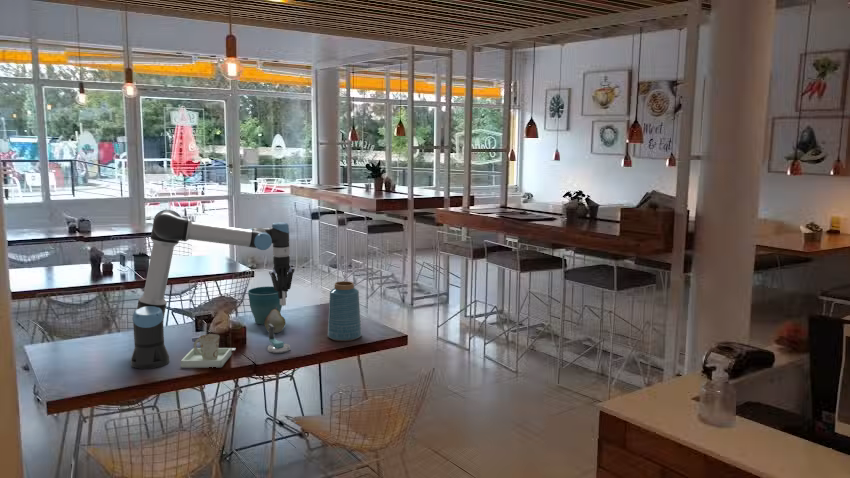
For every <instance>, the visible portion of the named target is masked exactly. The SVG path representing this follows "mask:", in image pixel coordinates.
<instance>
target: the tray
mask: <svg viewBox="0 0 850 478" xmlns="http://www.w3.org/2000/svg"><path fill="white" fill-rule="evenodd" d="M232 348H233V347H219V348H218V358H217V360H203V358H202V354H199V353H197V352H196V351H195V349H194V347H193V348H192V349H191V350H190V351H189V352H187V354H186V355H185V356H184V357H183V358H182V359H181V360H180V368H181V369H182V368H183V369H184V368H187V369H188V368H193V369H194V368H195V369H196V368H197V369H198V368H199V369H200V368H203V369H204V368H205V369H206V368H209V367H212V368H213V367H216V368H217V369H219V368H221V369H222V368H223V367H224V365H225V364H226V363H227V361H229V359H230V358H231V357H232V355H233V352H232ZM197 349H198V351H200V352H201V347H197Z"/></svg>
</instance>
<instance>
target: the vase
mask: <svg viewBox="0 0 850 478" xmlns="http://www.w3.org/2000/svg"><path fill="white" fill-rule="evenodd" d="M328 303H329V305H328V307H329V308H328V321H327V323H328V324H327V337H328V338H329V339H331V341H336V342H337V341H338V342H351V341H356V340H358V339H359V338H360V337H361V336H362V324H361V323H362V319H361V309H360V307H361V306H360V305H361V304H360V291H359V289H357V288H355V284H354V282H352V281H346V280H345V281H337V282H335V283H334V286H333V288H332V289H330V291H329V302H328Z"/></svg>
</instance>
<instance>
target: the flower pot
mask: <svg viewBox="0 0 850 478" xmlns="http://www.w3.org/2000/svg"><path fill="white" fill-rule="evenodd" d="M247 294H248V300H249V301H248V302H249V306H250V311H251V312H252V317H253V318H254V323H255V324H258V325H264V326H265V324H264V322H265V319H266V317H267V316H268V314H269V313H270V311H271V310H273V309H276V307H277V310H278V311H279V312H280V313H281V311H282V308H283V306H282V305H280V299H279V298H278V291H275V290H274V286H273V285H272V286H269V285H268V286H258V287H253V288H251V289H248V290H247Z"/></svg>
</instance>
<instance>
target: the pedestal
mask: <svg viewBox="0 0 850 478" xmlns="http://www.w3.org/2000/svg"><path fill="white" fill-rule="evenodd" d="M290 350H291V345H290V344H288V343H284V347H282V348H275V347H274V345H273V344H272V343H271V344H269V345H268V346H267V352H269V353H271V354H284V353H288V352H290Z"/></svg>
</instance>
